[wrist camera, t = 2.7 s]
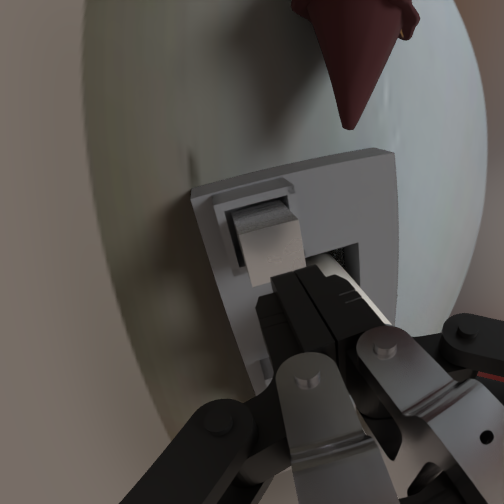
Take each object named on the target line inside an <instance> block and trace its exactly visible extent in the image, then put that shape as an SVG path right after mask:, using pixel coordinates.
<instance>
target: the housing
mask: <svg viewBox="0 0 504 504" xmlns="http://www.w3.org/2000/svg"><path fill="white" fill-rule="evenodd" d="M190 199H191V203H192V206H193V209H194V213H195V216H196V219H197V223H198V226H199V229H200V233H201V236H202V239H203V242H204V246H205V249H206V252H207V255H208V258H209V261H210V264H211V268H212V271H213V274H214V277H215V280H216V283H217V286H218V289H219V292H220V295H221V298H222V301H223V304H224V307H225V310H226V313H227V316H228V319H229V322H230V325H231V328H232V331H233V333H234V336H235V339H236V342H237V345H238V348H239V351H240V353H241V356H242V359H243V362H244V364H245V367H246V370H247V373H248V375H249V378H250V381H251V384H252V386H253V389H254V392H255V394H256V396H257V395H259V394H260V393H262V392H263V391H264V390H265V389H266V388H267V387H268V385H269V384H270V382H271V380H272V378H273V374H274V372H273V368H272V365H271V362H270V359H269V355H268V352H267V349H266V346H265V342H264V339H263V335H262V331H261V328H260V324H259V320H258V317H257V313H256V309H255V307H256V304H257V301H258V298H259V296H263V295H266V294H270V293H273V290H272V286H271V282H269V283H266V284H262V285H259V286H255V287H252V284H251V281H250V278H249V275H248V272H247V269H246V266H245V263H244V260H243V256H242V253H241V249H240V245H239V241H238V237H237V234H236V230H235V226H234V222H233V218H232V214H231V212H235V211H239V210H242V209H246V208H250V207H254V206H258V205H261V204H265V203H269V202H273V201H277V200H280V201H281V202H282V203H283V204H284V205H285V206H286V207H287V208H288V209H289V210H290V211H291V212H292V213H293V214H294V215H295V216H296V217H297V218H298V219H299V225H300V231H301V237H302V243H303V249H304V256H305V258H306V257H310V256H313V255H317V254H320V253H324V252H327V251H331V250H334V249H337V248H341V247H344V259H345V271H346V272H347V273H348V274H349V275H350V277H351V278H352V279H353V280H354V281H355V282H356V283H357V285H358V286H359V287H360V288H361V289H362V290H363V291H364V293H365V294H366V295H367V296H368V297H369V298H370V300H371V301H372V302H373V303H374V304H375V305H376V307H377V308H378V309H379V310H380V311H381V312H382V314H383V315H384V316H385V317H386V318H387V320H388V321H389V322H390V323H391V324H392V325H393V326H395V316H396V303H397V286H398V259H399V221H398V194H397V177H396V165H395V154H394V153H393V152H390V151H386V150H381V149H377V148H368V149H362V150H356V151H350V152H345V153H340V154H334V155H329V156H324V157H319V158H314V159H309V160H305V161H300V162H295V163H291V164H286V165H282V166H277V167H273V168H269V169H265V170H260V171H256V172H252V173H248V174H244V175H240V176H236V177H232V178H229V179H225V180H221V181H217V182H214V183H210V184H206V185H203V186H199V187H196V188H192V189H191V198H190Z"/></svg>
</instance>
